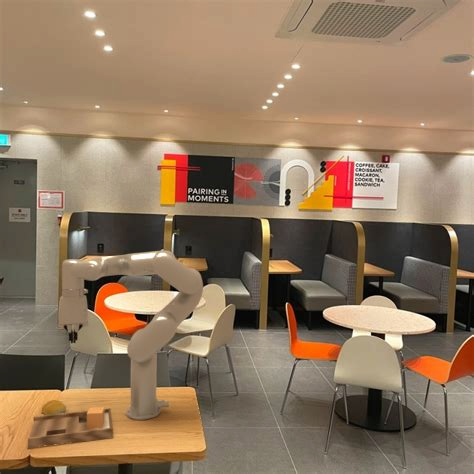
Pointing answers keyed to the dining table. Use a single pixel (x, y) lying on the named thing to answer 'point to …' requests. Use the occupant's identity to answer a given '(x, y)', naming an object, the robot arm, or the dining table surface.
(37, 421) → the box
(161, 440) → the dining table surface
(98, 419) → the orange block
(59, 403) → the bread roll
